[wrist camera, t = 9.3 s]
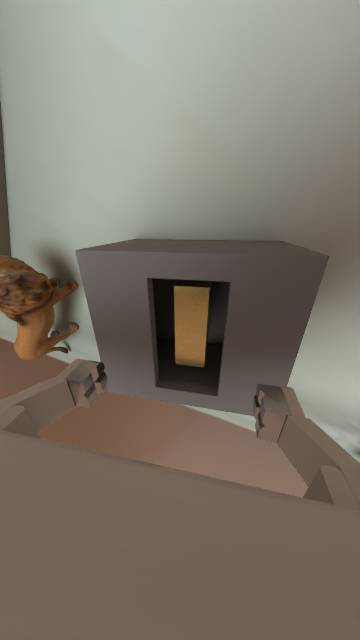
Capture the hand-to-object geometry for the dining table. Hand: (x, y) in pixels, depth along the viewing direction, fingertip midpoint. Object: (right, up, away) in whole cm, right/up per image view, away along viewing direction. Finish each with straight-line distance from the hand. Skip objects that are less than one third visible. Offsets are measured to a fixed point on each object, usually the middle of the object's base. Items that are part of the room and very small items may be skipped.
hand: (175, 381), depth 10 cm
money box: (+2, +6, +11) cm, 13 cm away
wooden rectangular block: (+2, +5, +10) cm, 12 cm away
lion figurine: (-15, +6, +15) cm, 22 cm away
